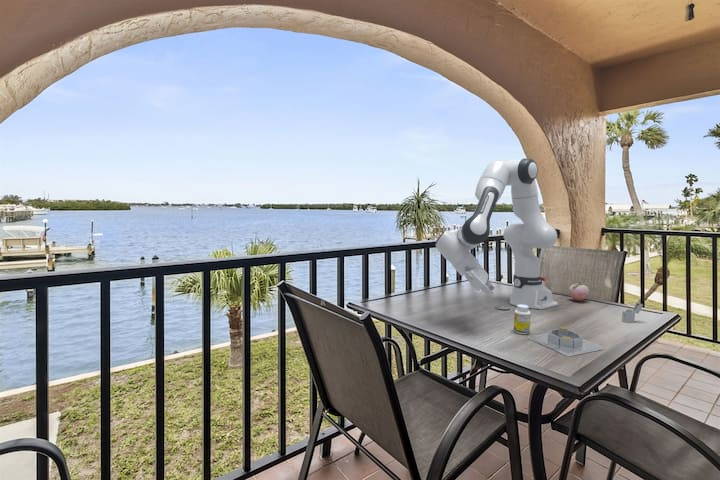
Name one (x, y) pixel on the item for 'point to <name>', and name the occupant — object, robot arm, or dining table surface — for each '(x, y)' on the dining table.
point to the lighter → (631, 314)
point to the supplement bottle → (522, 319)
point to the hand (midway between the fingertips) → (492, 292)
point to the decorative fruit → (578, 291)
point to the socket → (565, 342)
